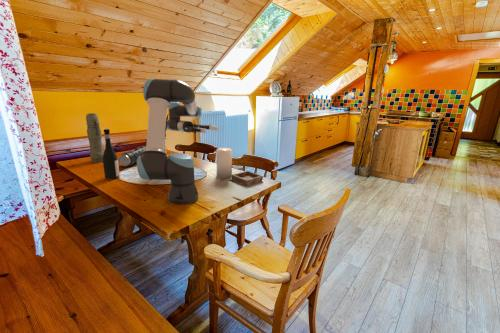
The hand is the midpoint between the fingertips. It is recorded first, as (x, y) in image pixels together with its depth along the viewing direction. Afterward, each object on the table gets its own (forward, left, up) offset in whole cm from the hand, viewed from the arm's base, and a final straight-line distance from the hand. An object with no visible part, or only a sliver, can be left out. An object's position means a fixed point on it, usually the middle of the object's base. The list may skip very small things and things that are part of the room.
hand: (211, 129), depth 164 cm
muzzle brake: (-31, +55, -30) cm, 70 cm away
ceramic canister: (+3, -9, -30) cm, 31 cm away
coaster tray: (+9, -25, -30) cm, 40 cm away
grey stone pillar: (-51, +75, -30) cm, 95 cm away
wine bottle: (-54, +30, -30) cm, 68 cm away
